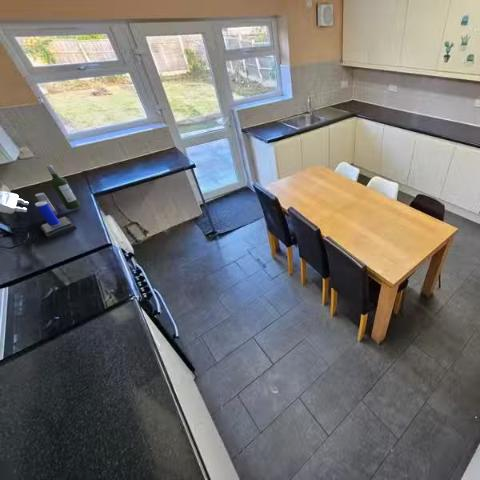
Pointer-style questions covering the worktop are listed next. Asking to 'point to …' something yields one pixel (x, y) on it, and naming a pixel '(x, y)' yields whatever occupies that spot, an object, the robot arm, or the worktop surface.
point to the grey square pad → (62, 224)
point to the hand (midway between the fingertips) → (27, 207)
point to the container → (43, 198)
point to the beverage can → (47, 213)
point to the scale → (60, 230)
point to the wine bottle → (63, 190)
